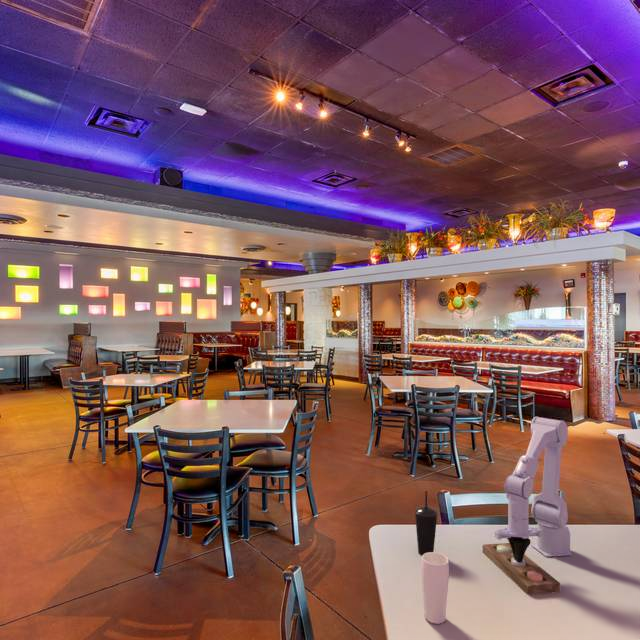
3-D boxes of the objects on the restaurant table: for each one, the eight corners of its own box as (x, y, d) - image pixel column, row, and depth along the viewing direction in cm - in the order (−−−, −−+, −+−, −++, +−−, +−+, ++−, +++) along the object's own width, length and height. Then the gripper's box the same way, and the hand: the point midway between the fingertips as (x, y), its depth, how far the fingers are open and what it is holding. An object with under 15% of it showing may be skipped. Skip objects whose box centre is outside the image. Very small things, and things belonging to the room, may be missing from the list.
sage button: (505, 552, 146) (505, 544, 146) (512, 558, 142) (512, 550, 142) (494, 553, 146) (494, 545, 146) (501, 559, 142) (501, 551, 142)
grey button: (520, 565, 138) (520, 556, 139) (528, 572, 134) (528, 563, 135) (508, 566, 138) (508, 557, 138) (516, 573, 134) (516, 564, 134)
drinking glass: (417, 610, 116) (418, 552, 116) (442, 609, 116) (443, 551, 117) (425, 627, 109) (426, 565, 109) (452, 626, 110) (453, 564, 110)
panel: (510, 550, 149) (510, 542, 149) (560, 592, 125) (560, 582, 125) (482, 552, 147) (482, 544, 147) (527, 594, 123) (527, 585, 124)
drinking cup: (422, 545, 151) (422, 485, 152) (442, 553, 146) (442, 491, 147) (409, 552, 146) (409, 491, 147) (429, 561, 141) (430, 497, 141)
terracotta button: (536, 579, 131) (536, 570, 131) (545, 587, 127) (545, 578, 127) (524, 580, 130) (524, 571, 130) (532, 588, 126) (533, 579, 126)
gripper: (504, 522, 131) (503, 569, 131) (548, 520, 134) (548, 566, 133) (491, 513, 138) (490, 557, 138) (533, 510, 141) (533, 554, 140)
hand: (518, 560), depth 136 cm, fingers closed, pressing on grey button
